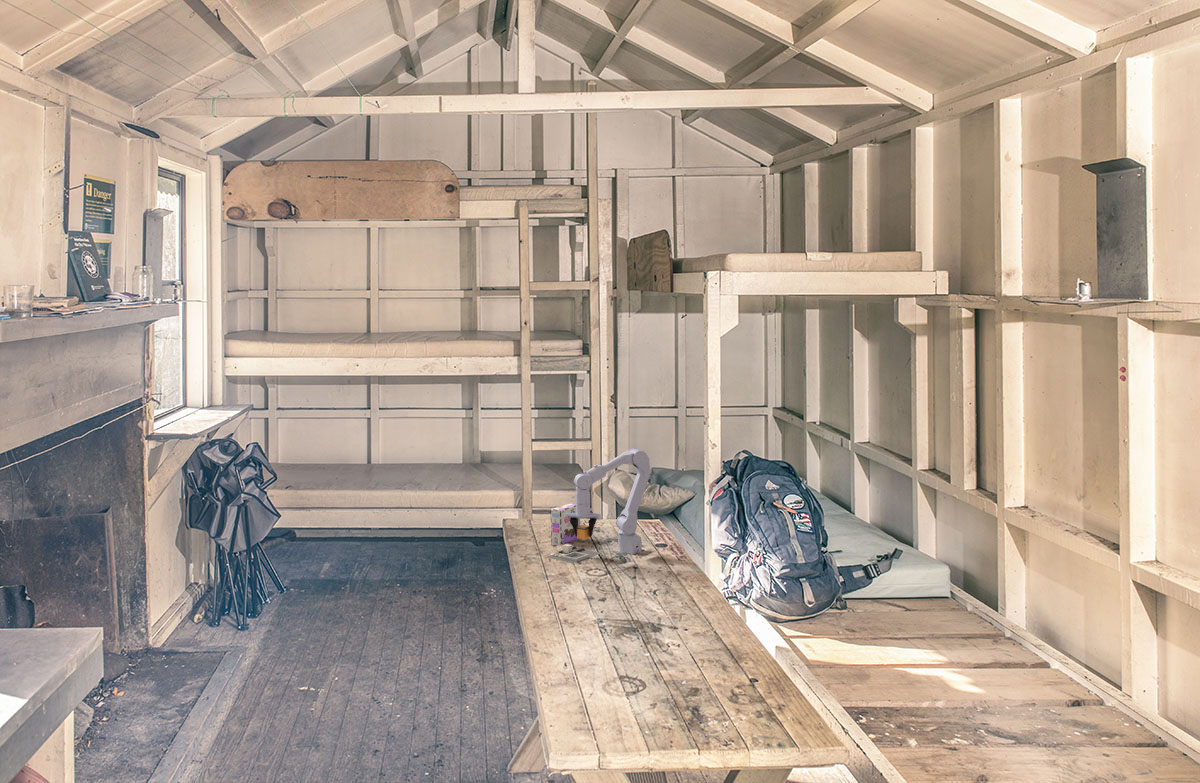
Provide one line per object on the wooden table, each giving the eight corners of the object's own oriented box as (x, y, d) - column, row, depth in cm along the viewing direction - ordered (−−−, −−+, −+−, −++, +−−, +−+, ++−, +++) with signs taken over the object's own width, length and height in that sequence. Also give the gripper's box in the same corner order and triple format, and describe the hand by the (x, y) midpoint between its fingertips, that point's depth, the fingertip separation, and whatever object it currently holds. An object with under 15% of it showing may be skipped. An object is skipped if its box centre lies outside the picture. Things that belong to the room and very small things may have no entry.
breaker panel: (602, 556, 386) (602, 550, 386) (572, 566, 372) (572, 560, 372) (575, 550, 396) (574, 544, 396) (545, 560, 383) (544, 554, 382)
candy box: (561, 547, 402) (560, 510, 400) (551, 546, 405) (549, 508, 404) (581, 540, 413) (580, 504, 411) (570, 539, 416) (569, 502, 415)
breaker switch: (572, 552, 388) (572, 545, 387) (568, 553, 386) (568, 546, 386) (566, 550, 390) (566, 543, 390) (562, 552, 388) (562, 545, 388)
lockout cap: (590, 537, 383) (590, 525, 383) (584, 539, 380) (584, 527, 380) (583, 536, 386) (582, 524, 385) (576, 538, 382) (576, 526, 382)
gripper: (602, 501, 384) (603, 534, 385) (568, 500, 387) (569, 533, 388) (598, 505, 377) (599, 538, 378) (563, 504, 380) (564, 537, 381)
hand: (583, 536), depth 383 cm, fingers closed on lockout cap, 5 cm apart
